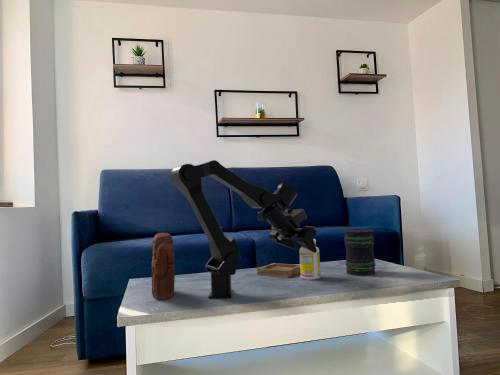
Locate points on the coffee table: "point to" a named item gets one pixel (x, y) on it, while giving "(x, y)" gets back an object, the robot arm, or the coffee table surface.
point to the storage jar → (360, 252)
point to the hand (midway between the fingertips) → (306, 250)
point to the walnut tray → (279, 270)
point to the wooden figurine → (163, 266)
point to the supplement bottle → (309, 263)
